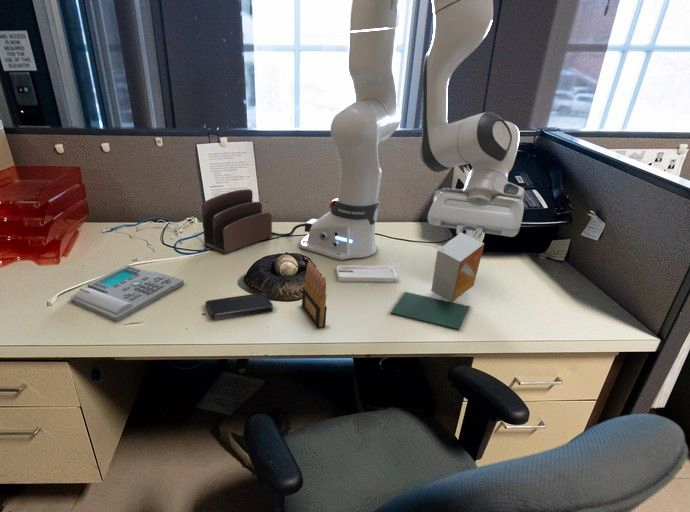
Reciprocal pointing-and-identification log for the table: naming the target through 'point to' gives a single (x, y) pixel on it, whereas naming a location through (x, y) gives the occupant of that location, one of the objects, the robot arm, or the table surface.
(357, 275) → the phone case
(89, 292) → the office telephone
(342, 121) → the robot arm
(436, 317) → the mat
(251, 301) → the phone
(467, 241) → the small box
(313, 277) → the ammunition clip
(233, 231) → the letter holder
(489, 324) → the table surface
